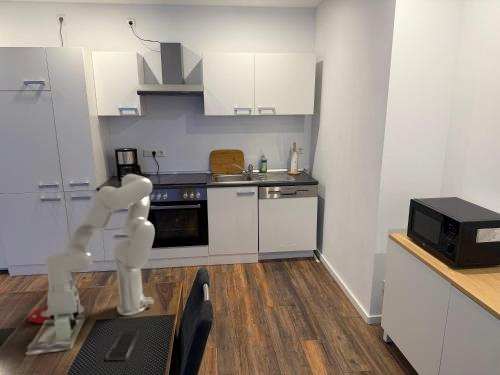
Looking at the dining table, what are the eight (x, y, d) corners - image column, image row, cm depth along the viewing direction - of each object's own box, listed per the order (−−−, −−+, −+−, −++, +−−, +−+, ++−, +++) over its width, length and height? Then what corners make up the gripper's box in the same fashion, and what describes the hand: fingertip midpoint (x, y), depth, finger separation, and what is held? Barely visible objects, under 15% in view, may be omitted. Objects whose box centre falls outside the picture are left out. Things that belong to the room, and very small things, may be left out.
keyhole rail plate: (85, 319, 141) (84, 314, 141) (71, 349, 123) (70, 343, 123) (46, 323, 138) (45, 318, 138) (26, 355, 120) (25, 349, 120)
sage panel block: (76, 324, 136) (74, 306, 135) (68, 339, 127) (66, 321, 125) (65, 325, 136) (63, 307, 134) (57, 341, 126) (54, 322, 124)
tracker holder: (57, 319, 140) (29, 321, 135) (56, 327, 141) (27, 330, 136) (57, 299, 150) (30, 301, 144) (55, 307, 151) (29, 309, 145)
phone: (139, 331, 132) (127, 358, 117) (140, 334, 132) (127, 361, 117) (119, 332, 132) (104, 359, 117) (119, 334, 132) (104, 362, 117)
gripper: (87, 278, 132) (92, 320, 136) (40, 283, 129) (46, 325, 133) (82, 287, 125) (87, 331, 129) (32, 292, 122) (39, 337, 126)
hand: (66, 327), depth 131 cm, fingers closed on sage panel block, 4 cm apart
